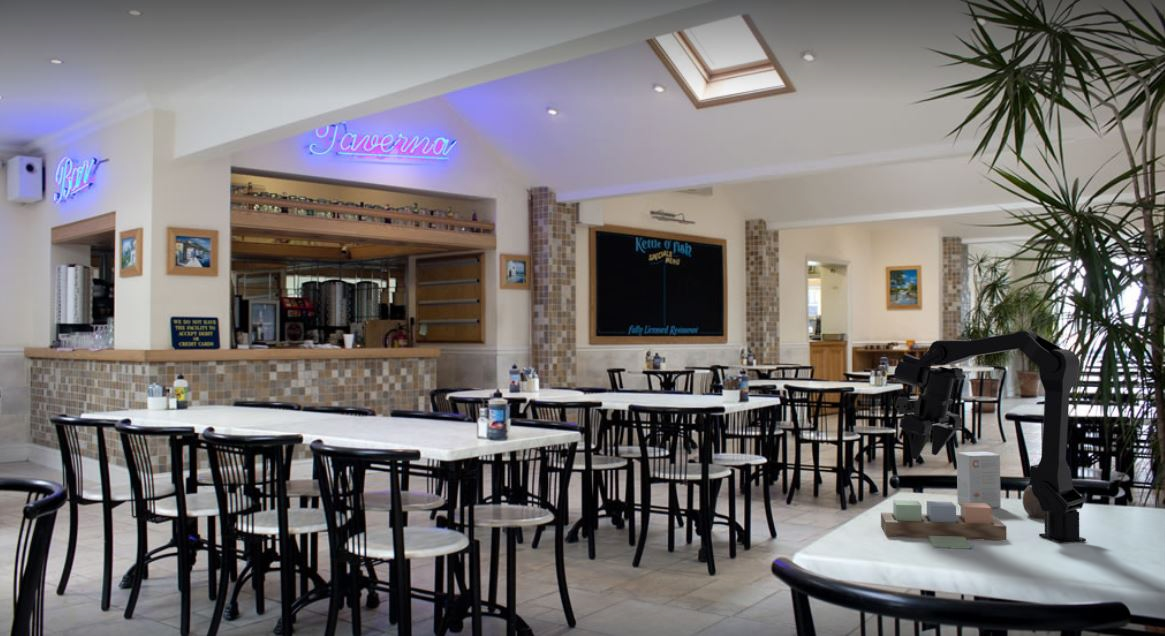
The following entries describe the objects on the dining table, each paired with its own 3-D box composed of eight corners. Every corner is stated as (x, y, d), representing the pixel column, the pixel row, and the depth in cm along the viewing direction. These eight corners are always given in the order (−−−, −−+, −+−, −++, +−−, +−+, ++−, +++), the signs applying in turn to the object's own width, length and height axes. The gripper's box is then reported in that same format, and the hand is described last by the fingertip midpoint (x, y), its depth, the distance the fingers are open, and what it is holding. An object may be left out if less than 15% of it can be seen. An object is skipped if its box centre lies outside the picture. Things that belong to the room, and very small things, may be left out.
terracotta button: (986, 521, 201) (986, 503, 201) (991, 526, 196) (991, 507, 196) (960, 520, 202) (960, 502, 202) (965, 525, 197) (965, 507, 197)
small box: (986, 502, 233) (986, 451, 233) (1001, 507, 227) (1000, 454, 227) (956, 503, 232) (956, 451, 232) (970, 508, 226) (969, 455, 226)
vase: (1061, 519, 213) (1060, 481, 213) (1030, 519, 214) (1030, 481, 214) (1046, 513, 220) (1046, 476, 220) (1017, 513, 220) (1017, 476, 220)
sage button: (918, 519, 204) (918, 500, 204) (921, 524, 199) (921, 505, 199) (893, 518, 205) (893, 500, 205) (896, 523, 200) (896, 504, 200)
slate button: (951, 520, 202) (951, 501, 202) (956, 525, 197) (956, 506, 197) (926, 519, 204) (926, 501, 204) (930, 524, 198) (930, 505, 198)
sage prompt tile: (964, 540, 193) (964, 536, 193) (971, 548, 187) (971, 544, 187) (928, 539, 195) (928, 535, 195) (934, 547, 188) (934, 543, 188)
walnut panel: (995, 530, 203) (995, 516, 203) (1006, 540, 193) (1006, 526, 193) (880, 525, 208) (880, 512, 208) (886, 536, 198) (885, 521, 198)
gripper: (925, 381, 227) (913, 442, 230) (885, 386, 215) (872, 450, 218) (969, 394, 219) (955, 456, 222) (929, 399, 207) (916, 465, 210)
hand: (924, 456), depth 218 cm, fingers open, 9 cm apart
